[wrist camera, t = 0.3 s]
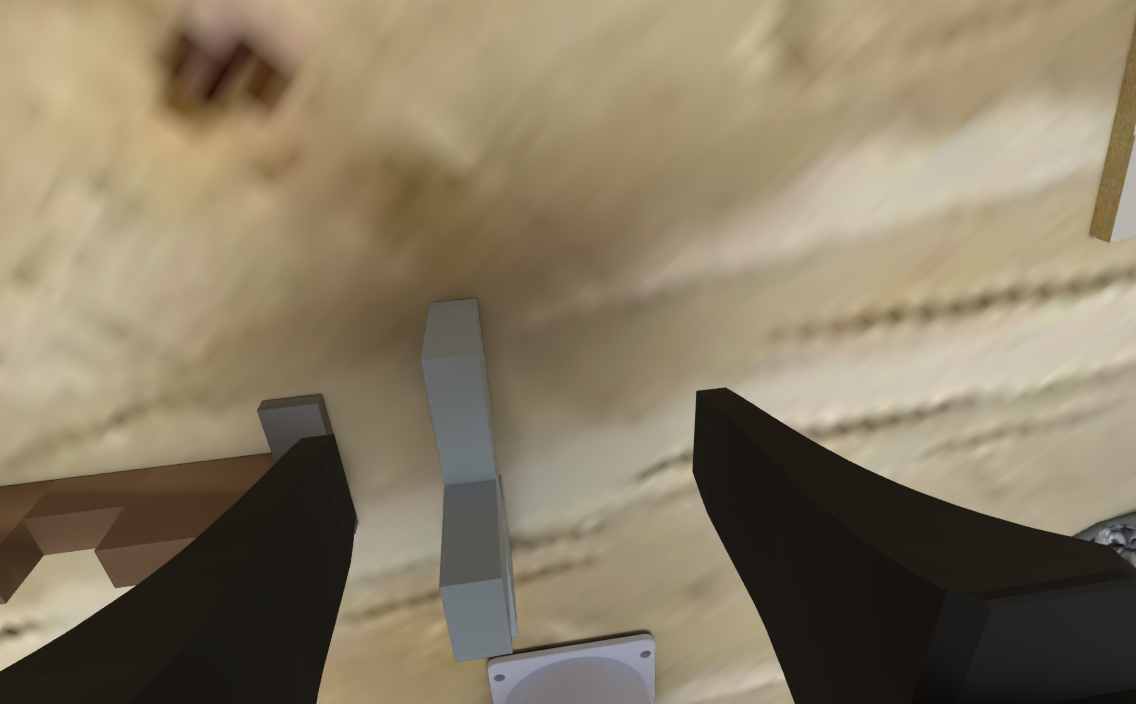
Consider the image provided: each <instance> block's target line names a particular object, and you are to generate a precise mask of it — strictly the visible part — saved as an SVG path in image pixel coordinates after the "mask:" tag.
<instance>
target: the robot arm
mask: <svg viewBox="0 0 1136 704" xmlns="http://www.w3.org/2000/svg"><path fill="white" fill-rule="evenodd" d="M692 471H693V474H694V477H695V480H696V483H697V486H698V489H699V492H700V495H701V497H702V500H703V503H704V505H705V508H706V511H707V513H708V515H709V517H710V519H711V521H712V523H713V525H714V527H715V529H716V531H717V533H718V535H719V537H720V539H721V541H722V543H723V545H724V547H725V549H726V551H727V553H728V554H729V556H730V558H731V560H732V562H733V564H734V566H735V568H736V570H737V572H738V574H739V575H740V577H741V579H742V581H743V583H744V585H745V587H746V589H747V591H748V593H749V595H750V596H751V598H752V600H753V602H754V604H755V606H756V608H757V610H758V613H759V615H760V617H761V619H762V621H763V623H764V625H765V628H766V630H767V633H768V635H769V638H770V640H771V643H772V646H773V648H774V651H775V653H776V656H777V658H778V661H779V663H780V666H781V668H782V671H783V673H784V676H785V679H786V681H787V684H788V687H789V689H790V692H791V695H792V697H793V700H794V703H795V704H1136V567H1135V566H1134V565H1132V564H1131V563H1130V562H1129V561H1127V560H1126V559H1125V558H1124V557H1123V556H1121V555H1120V554H1119V553H1118V552H1117V551H1115V550H1114V549H1113V548H1112V547H1110V546H1109V545H1105V544H1100V543H1096V542H1092V541H1087V540H1083V539H1078V538H1074V537H1070V536H1065V535H1061V534H1056V533H1052V532H1048V531H1043V530H1039V529H1035V528H1031V527H1027V526H1023V525H1020V524H1016V523H1013V522H1009V521H1006V520H1002V519H999V518H995V517H992V516H988V515H985V514H982V513H978V512H975V511H972V510H969V509H966V508H963V507H960V506H957V505H954V504H951V503H948V502H946V501H943V500H940V499H937V498H935V497H932V496H929V495H926V494H924V493H921V492H918V491H916V490H913V489H911V488H908V487H906V486H903V485H901V484H898V483H896V482H894V481H892V480H889V479H887V478H885V477H883V476H880V475H878V474H876V473H874V472H871V471H869V470H867V469H865V468H863V467H861V466H859V465H857V464H855V463H853V462H851V461H849V460H847V459H845V458H843V457H841V456H839V455H837V454H835V453H834V452H832V451H830V450H828V449H826V448H824V447H822V446H821V445H819V444H817V443H815V442H814V441H812V440H810V439H808V438H807V437H805V436H803V435H802V434H800V433H798V432H797V431H795V430H793V429H792V428H790V427H788V426H787V425H785V424H784V423H782V422H780V421H779V420H777V419H776V418H774V417H772V416H771V415H769V414H768V413H766V412H765V411H763V410H761V409H760V408H758V407H757V406H755V405H754V404H752V403H750V402H749V401H747V400H746V399H744V398H743V397H741V396H739V395H738V394H736V393H734V392H733V391H731V390H729V389H727V388H726V387H725V388H717V389H709V390H700V391H696V411H695V431H694V451H693V470H692ZM355 522H356V513H355V509H354V506H353V502H352V498H351V495H350V491H349V487H348V484H347V480H346V476H345V473H344V469H343V465H342V462H341V458H340V455H339V451H338V447H337V444H336V440H335V436H334V434H330V435H321V436H313V437H305V438H301V439H300V440H299V441H297V442H296V443H295V444H294V445H293V446H292V447H291V448H290V449H289V450H288V451H287V452H286V453H285V454H284V455H283V456H282V457H281V458H280V459H279V460H278V461H277V462H276V463H275V464H274V465H273V466H272V467H271V468H270V469H269V470H268V471H267V472H266V473H265V474H264V475H263V476H262V477H261V478H260V479H259V480H258V481H257V482H256V483H255V484H254V485H253V486H252V487H251V488H250V489H249V490H248V491H247V492H246V493H245V494H244V495H243V496H242V497H241V498H240V499H239V500H238V501H237V502H236V503H235V504H233V505H232V506H231V507H230V508H229V509H228V510H227V511H226V512H225V513H224V514H222V515H221V516H220V517H219V518H218V519H217V520H216V521H215V522H214V523H212V524H211V525H210V526H209V527H208V528H207V529H206V530H205V531H203V532H202V533H201V534H200V535H199V536H198V537H197V538H196V539H195V540H193V541H192V542H191V543H190V544H189V545H188V546H186V547H185V548H184V549H183V550H182V551H180V552H179V553H178V554H177V555H175V556H174V557H173V558H172V559H170V560H169V561H168V562H167V563H165V564H164V565H163V566H161V567H160V568H159V569H157V570H156V571H155V572H154V573H152V574H151V575H150V576H148V577H147V578H146V579H144V580H143V581H142V582H140V583H139V584H138V585H136V586H135V587H133V588H132V589H131V590H129V591H128V592H126V593H125V594H123V595H122V596H120V597H119V598H117V599H116V600H114V601H113V602H111V603H110V604H108V605H107V606H105V607H104V608H103V609H101V610H100V611H98V612H97V613H95V614H94V615H92V616H91V617H89V618H88V619H86V620H85V621H83V622H82V623H80V624H79V625H77V626H76V627H74V628H73V629H71V630H69V631H68V632H66V633H65V634H63V635H61V636H60V637H58V638H56V639H55V640H53V641H51V642H50V643H48V644H46V645H45V646H43V647H41V648H40V649H38V650H37V651H35V652H33V653H31V654H30V655H28V656H26V657H24V658H23V659H21V660H19V661H17V662H16V663H14V664H12V665H10V666H9V667H7V668H5V669H3V670H2V671H0V704H316V703H317V697H318V692H319V687H320V682H321V678H322V673H323V669H324V665H325V661H326V657H327V653H328V650H329V646H330V642H331V638H332V634H333V630H334V627H335V623H336V619H337V615H338V611H339V607H340V604H341V600H342V596H343V592H344V588H345V584H346V580H347V576H348V572H349V568H350V564H351V557H352V549H353V541H354V532H355ZM487 669H488V677H489V683H490V688H491V693H492V699H493V704H654V702H655V642H654V638H653V636H651V635H649V634H640V635H634V636H628V637H621V638H615V639H609V640H603V641H596V642H590V643H584V644H578V645H571V646H565V647H559V648H552V649H546V650H540V651H534V652H527V653H521V654H515V655H508V656H502V657H496V658H493V659H492V660H490V661H489V662H488V665H487Z"/></svg>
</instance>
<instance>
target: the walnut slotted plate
mask: <svg viewBox="0 0 1136 704" xmlns="http://www.w3.org/2000/svg"><path fill="white" fill-rule="evenodd" d="M257 412H258V415H259V418H260V421H261V423H262V426H263V429H264V432H265V435H266V438H267V441H268V444H269V446H270V449H271V452H272V453H269V454H261V455H253V456H245V457H237V458H229V459H221V460H213V461H205V462H197V463H189V464H181V465H173V466H165V467H156V468H148V469H140V470H132V471H124V472H116V473H108V474H100V475H92V476H84V477H76V478H68V479H60V480H52V481H44V482H36V483H28V484H20V485H12V486H4V487H0V604H6V603H7V601H8V600H9V599H10V598H11V596H12V595H13V594H14V593H15V591H16V590H17V589H18V587H19V586H20V585H21V584H22V582H23V581H24V580H25V579H26V577H27V576H28V575H29V573H30V572H31V571H32V570H33V568H34V567H35V566H36V565H37V563H38V562H39V561H40V560H41V558H42V557H43V556H44V555H49V554H57V553H64V552H72V551H79V550H86V549H94V548H96V549H95V551H94V552H95V553H96V555H97V557H98V559H99V561H100V562H101V564H102V566H103V568H104V569H105V571H106V573H107V575H108V576H109V578H110V580H111V582H112V583H113V585H114V587H115V588H120V587H127V586H134V585H138V584H139V583H140V582H142V581H143V580H144V579H146V578H147V577H148V576H150V575H151V574H152V573H154V572H155V571H156V570H157V569H159V568H160V567H161V566H163V565H164V564H165V563H167V562H168V561H169V560H170V559H172V558H173V557H174V556H175V555H177V554H178V553H179V552H180V551H182V550H183V549H184V548H185V547H186V546H188V545H189V544H190V543H191V542H192V541H193V540H195V539H196V538H197V537H198V536H199V535H200V534H201V533H202V532H203V531H205V530H206V529H207V528H208V527H209V526H210V525H211V524H212V523H214V522H215V521H216V520H217V519H218V518H219V517H220V516H221V515H222V514H224V513H225V512H226V511H227V510H228V509H229V508H230V507H231V506H232V505H233V504H235V503H236V502H237V501H238V500H239V499H240V498H241V497H242V496H243V495H244V494H245V493H246V492H247V491H248V490H249V489H250V488H251V487H252V486H253V485H254V484H255V483H256V482H257V481H258V480H259V479H260V478H261V477H262V476H263V475H264V474H265V473H266V472H267V471H268V470H269V469H270V468H271V467H272V466H273V465H274V464H275V463H276V462H277V461H278V460H279V459H280V458H281V457H282V456H283V455H284V454H285V453H286V452H287V451H288V450H289V449H290V448H291V447H292V446H293V445H294V444H295V443H296V442H297V441H299V440H300V439H301V438H305V437H313V436H321V435H330V434H332V430H331V427H330V423H329V420H328V416H327V413H326V409H325V406H324V402H323V399H322V395H312V396H303V397H295V398H286V399H278V400H269V401H262V403H261V404H260V406H259V408H258V410H257ZM357 525H358V521H357V518H356V522H355V532H354V534H356V530H357Z"/></svg>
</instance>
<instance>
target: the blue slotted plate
mask: <svg viewBox="0 0 1136 704" xmlns="http://www.w3.org/2000/svg"><path fill="white" fill-rule="evenodd" d="M421 365H422V370H423V375H424V381H425V386H426V391H427V396H428V401H429V407H430V412H431V417H432V422H433V428H434V433H435V438H436V443H437V449H438V454H439V459H440V464H441V469H442V475H443V480H444V485H445V489H444V507H443V526H442V545H441V564H440V583H439V588H440V593H441V598H442V602H443V607H444V611H445V616H446V621H447V625H448V630H449V634H450V639H451V643H452V648H453V653H454V657H455V662H461V661H468V660H474V659H480V658H487V657H493V656H499V655H506V654H512V653H513V650H512V638H515V637H518V630H517V617H516V604H515V591H514V578H513V566H512V554H511V547H510V539H509V532H508V525H507V517H506V510H505V502H504V495H503V488H502V480H501V475H500V476H498V470H497V463H496V455H495V448H494V441H493V423H492V406H491V399H490V392H489V384H488V377H487V369H486V362H485V355H484V347H483V340H482V333H481V325H480V318H479V310H478V303H477V298H473V299H463V300H454V301H444V302H435V303H429V305H428V312H427V319H426V326H425V333H424V340H423V347H422V354H421Z"/></svg>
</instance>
